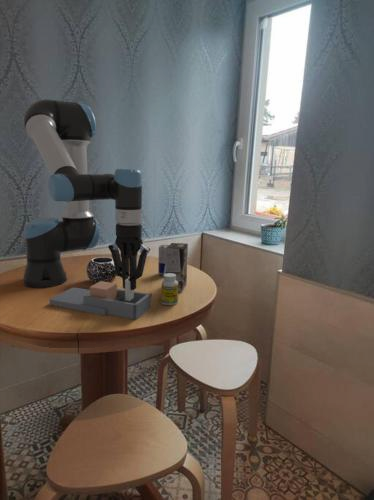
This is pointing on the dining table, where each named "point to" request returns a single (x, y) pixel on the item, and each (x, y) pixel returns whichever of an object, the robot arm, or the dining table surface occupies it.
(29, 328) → the dining table surface
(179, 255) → the coffee box
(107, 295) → the terracotta block
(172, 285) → the supplement bottle
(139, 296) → the sliding lid box
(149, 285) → the dining table surface
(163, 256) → the energy drink
